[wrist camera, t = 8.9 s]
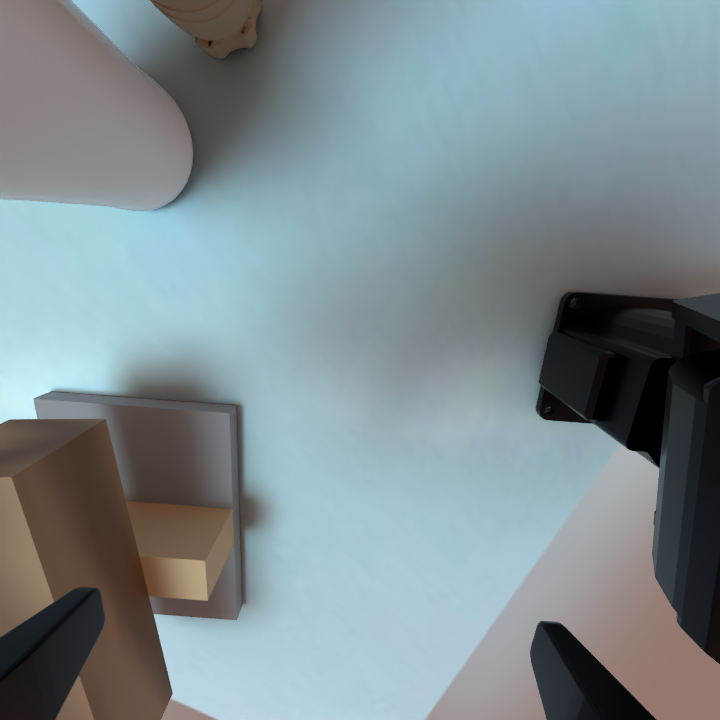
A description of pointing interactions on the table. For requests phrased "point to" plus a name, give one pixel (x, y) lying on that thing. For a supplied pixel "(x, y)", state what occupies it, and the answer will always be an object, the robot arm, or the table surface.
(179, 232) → the table surface
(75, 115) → the drinking glass
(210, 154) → the table surface
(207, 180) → the table surface
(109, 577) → the batten
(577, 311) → the robot arm
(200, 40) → the handle
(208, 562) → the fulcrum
